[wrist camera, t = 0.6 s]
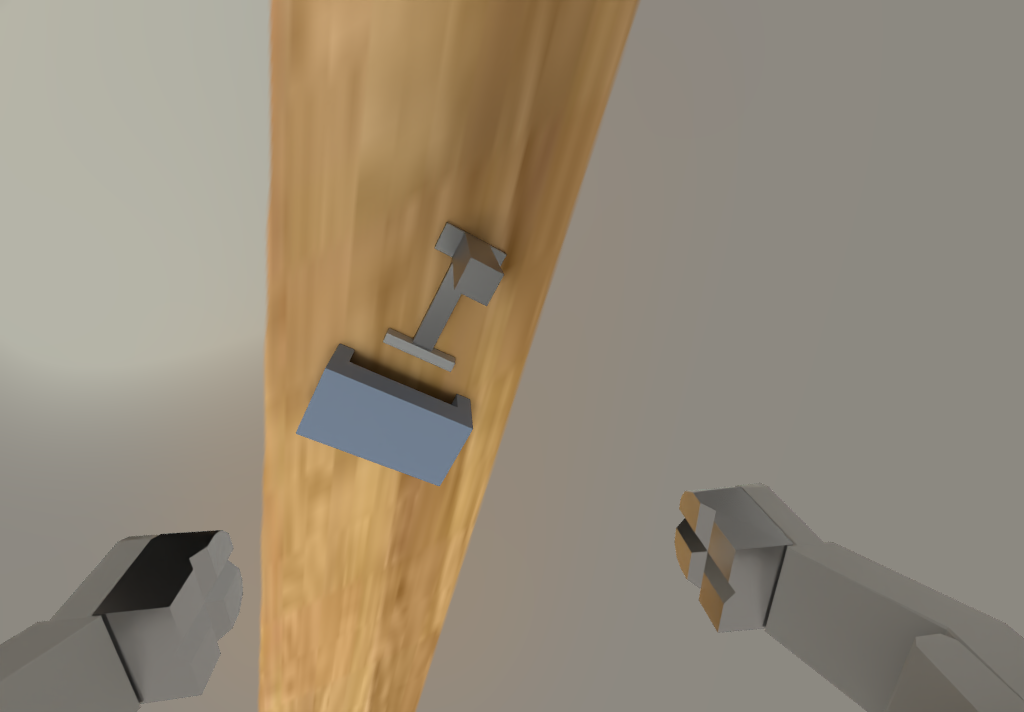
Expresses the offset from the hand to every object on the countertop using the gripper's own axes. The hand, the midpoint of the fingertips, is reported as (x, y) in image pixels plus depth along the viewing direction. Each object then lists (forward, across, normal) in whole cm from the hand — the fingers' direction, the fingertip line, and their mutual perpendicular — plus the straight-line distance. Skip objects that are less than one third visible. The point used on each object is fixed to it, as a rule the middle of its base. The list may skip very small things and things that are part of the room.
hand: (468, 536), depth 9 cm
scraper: (+38, +1, +6) cm, 39 cm away
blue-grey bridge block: (+38, +7, +16) cm, 42 cm away
